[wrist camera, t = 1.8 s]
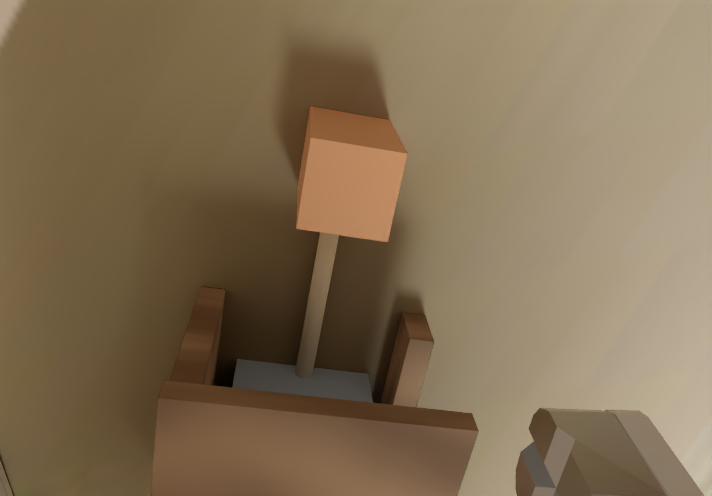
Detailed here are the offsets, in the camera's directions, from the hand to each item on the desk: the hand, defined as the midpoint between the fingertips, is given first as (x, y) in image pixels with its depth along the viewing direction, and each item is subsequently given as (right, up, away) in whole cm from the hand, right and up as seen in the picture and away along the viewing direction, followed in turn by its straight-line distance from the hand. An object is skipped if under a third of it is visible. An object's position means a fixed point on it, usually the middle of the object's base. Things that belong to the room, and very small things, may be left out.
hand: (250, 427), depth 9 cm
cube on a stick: (-1, -1, +23) cm, 23 cm away
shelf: (-2, -6, +25) cm, 26 cm away
